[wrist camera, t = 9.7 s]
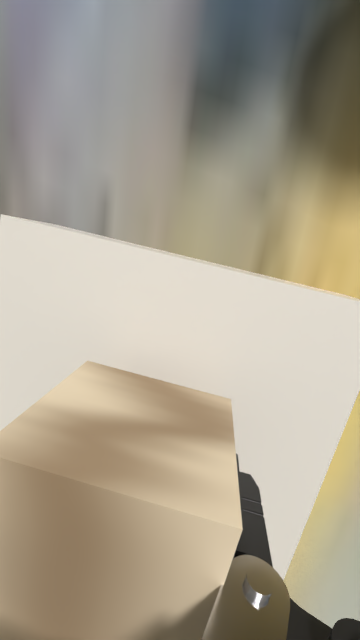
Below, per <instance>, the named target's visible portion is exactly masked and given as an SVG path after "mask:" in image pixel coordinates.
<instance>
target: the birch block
mask: <svg viewBox="0 0 360 640" xmlns="http://www.w3.org/2000/svg"><path fill="white" fill-rule="evenodd" d="M242 530H243V528H242V517H241V506H240V494H239V483H238V472H237V461H236V450H235V438H234V427H233V416H232V405H231V399H229V398H225V397H221V396H218V395H214V394H210V393H206V392H203V391H199V390H195V389H191V388H188V387H184V386H180V385H177V384H173V383H169V382H165V381H162V380H158V379H154V378H150V377H147V376H143V375H139V374H136V373H132V372H128V371H124V370H121V369H117V368H113V367H109V366H106V365H102V364H98V363H95V362H91V361H86V362H85V363H84V364H83V365H81V366H80V367H79V368H78V369H76V370H75V371H74V372H73V373H71V374H70V375H69V376H68V377H67V378H65V379H64V380H63V381H62V382H60V383H59V384H58V385H57V386H55V387H54V388H53V389H52V390H50V391H49V392H48V393H47V394H45V395H44V396H43V397H42V398H41V399H39V400H38V401H37V402H36V403H34V404H33V405H32V406H31V407H29V408H28V409H27V410H26V411H24V412H23V413H22V414H21V415H19V416H18V417H17V418H16V419H14V420H13V421H12V422H11V423H10V424H8V425H7V426H6V427H5V428H3V429H2V430H1V431H0V640H201V639H202V636H203V634H204V631H205V628H206V625H207V623H208V620H209V617H210V614H211V611H212V609H213V606H214V603H215V600H216V598H217V595H218V592H219V589H220V587H221V585H224V583H225V580H226V577H227V574H228V571H229V568H230V565H231V562H232V560H233V557H234V554H235V551H236V548H237V545H238V542H239V539H240V536H241V533H242Z"/></svg>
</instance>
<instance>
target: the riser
mask: <svg viewBox="0 0 360 640" xmlns="http://www.w3.org/2000/svg"><path fill="white" fill-rule="evenodd" d="M86 361H91V362H95V363H98V364H102V365H106V366H109V367H113V368H117V369H121V370H124V371H128V372H132V373H136V374H139V375H143V376H147V377H150V378H154V379H158V380H162V381H165V382H169V383H173V384H177V385H180V386H184V387H188V388H191V389H195V390H199V391H203V392H206V393H210V394H214V395H218V396H221V397H225V398H229V399H231V405H232V416H233V427H234V438H235V450H236V454H238V461H239V471H240V472H244V473H247V474H251V476H252V478H253V479H254V481H255V482H256V484H257V486H258V487H259V490H260V496H261V502H262V503H261V505H262V508H263V513H264V515H263V517H264V519H265V525H266V531H267V536H268V542H269V548H270V554H271V559H272V565H273V568H274V569H275V570H276V571H277V573H278V574H279V575H280V577H281V578H282V580H284V577H285V575H286V572H287V570H288V567H289V565H290V562H291V560H292V557H293V555H294V552H295V550H296V547H297V545H298V542H299V540H300V537H301V535H302V533H303V530H304V528H305V525H306V523H307V520H308V518H309V515H310V513H311V510H312V508H313V505H314V503H315V500H316V498H317V495H318V493H319V490H320V488H321V485H322V483H323V480H324V478H325V475H326V473H327V470H328V468H329V465H330V463H331V460H332V458H333V455H334V453H335V450H336V448H337V445H338V443H339V440H340V438H341V435H342V433H343V430H344V428H345V425H346V423H347V420H348V418H349V415H350V413H351V410H352V408H353V405H354V403H355V400H356V398H357V395H358V393H359V390H360V299H357V298H354V297H350V296H347V295H344V294H340V293H336V292H332V291H328V290H323V289H319V288H315V287H311V286H307V285H303V284H299V283H295V282H290V281H286V280H282V279H278V278H274V277H270V276H266V275H262V274H258V273H253V272H249V271H245V270H241V269H237V268H233V267H229V266H225V265H220V264H216V263H212V262H208V261H204V260H200V259H196V258H192V257H187V256H183V255H179V254H175V253H171V252H167V251H163V250H159V249H155V248H150V247H146V246H142V245H138V244H134V243H130V242H126V241H122V240H117V239H113V238H109V237H105V236H101V235H97V234H93V233H89V232H85V231H80V230H76V229H72V228H68V227H64V226H60V225H55V224H50V223H45V222H39V221H34V220H29V219H23V218H18V217H13V216H8V215H2V214H1V220H0V431H1V430H2V429H3V428H5V427H6V426H7V425H8V424H10V423H11V422H12V421H13V420H14V419H16V418H17V417H18V416H19V415H21V414H22V413H23V412H24V411H26V410H27V409H28V408H29V407H31V406H32V405H33V404H34V403H36V402H37V401H38V400H39V399H41V398H42V397H43V396H44V395H45V394H47V393H48V392H49V391H50V390H52V389H53V388H54V387H55V386H57V385H58V384H59V383H60V382H62V381H63V380H64V379H65V378H67V377H68V376H69V375H70V374H71V373H73V372H74V371H75V370H76V369H78V368H79V367H80V366H81V365H83V364H84V363H85V362H86Z"/></svg>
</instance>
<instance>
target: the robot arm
mask: <svg viewBox="0 0 360 640" xmlns="http://www.w3.org/2000/svg"><path fill="white" fill-rule="evenodd" d="M236 461H237V472H238V483H239V494H240V506H241V517H242V528H243V530H242V533H241V536H240V539H239V542H238V545H237V548H236V551H235V554H234V557H233V560H232V562H231V565H230V568H229V571H228V574H227V577H226V580H225V583H224V585H221V587H220V589H219V592H218V595H217V598H216V600H215V603H214V606H213V609H212V611H211V614H210V617H209V620H208V623H207V625H206V628H205V631H204V634H203V636H202V639H201V640H360V621H357V620H354V619H349V618H345V619H341V620H338V621H337V622H336V623H335V625H334V627H333V629H332V628H330V627H329V626H327V625H326V624H324V623H323V622H321V621H320V620H318V619H317V618H315V617H314V616H312V615H311V614H309V613H307V612H306V611H305V610H303V609H302V608H300V607H299V606H298V605H297V604H296V603H295V602H294V601H293V600H292V599H291V598H290V596H289V593H288V590H287V587H286V585H285V583H284V581H283V580H282V578H281V577H280V575H279V574H278V573H277V571H276V570H275V569H274V568H273V565H272V559H271V554H270V548H269V542H268V536H267V531H266V525H265V519H264V517H263V515H264V513H263V508H262V505H261V503H262V502H261V496H260V490H259V487H258V486H257V484H256V482H255V481H254V479H253V478H252V476H251V474H247V473H244V472H240V471H239V461H238V454H236Z"/></svg>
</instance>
